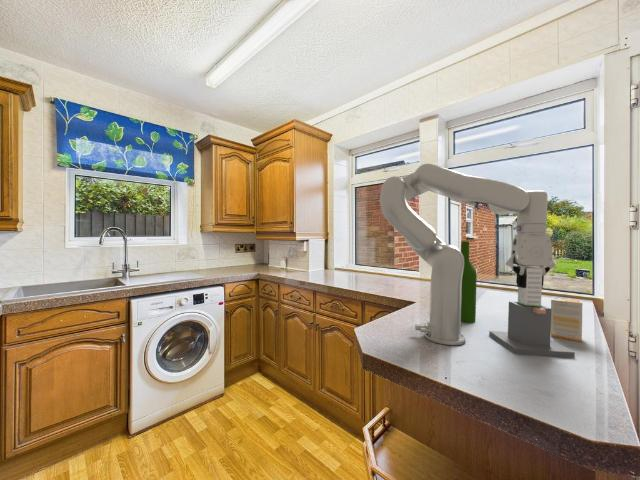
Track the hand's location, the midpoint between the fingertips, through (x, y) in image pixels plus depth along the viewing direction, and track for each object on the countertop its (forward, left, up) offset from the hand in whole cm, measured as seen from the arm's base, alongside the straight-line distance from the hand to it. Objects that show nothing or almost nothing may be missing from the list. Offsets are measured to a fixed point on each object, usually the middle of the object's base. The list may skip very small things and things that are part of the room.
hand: (529, 286), depth 91 cm
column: (0, 0, -12) cm, 12 cm away
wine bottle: (-10, +26, -19) cm, 34 cm away
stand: (0, 0, -19) cm, 19 cm away
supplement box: (+18, +10, -19) cm, 28 cm away
